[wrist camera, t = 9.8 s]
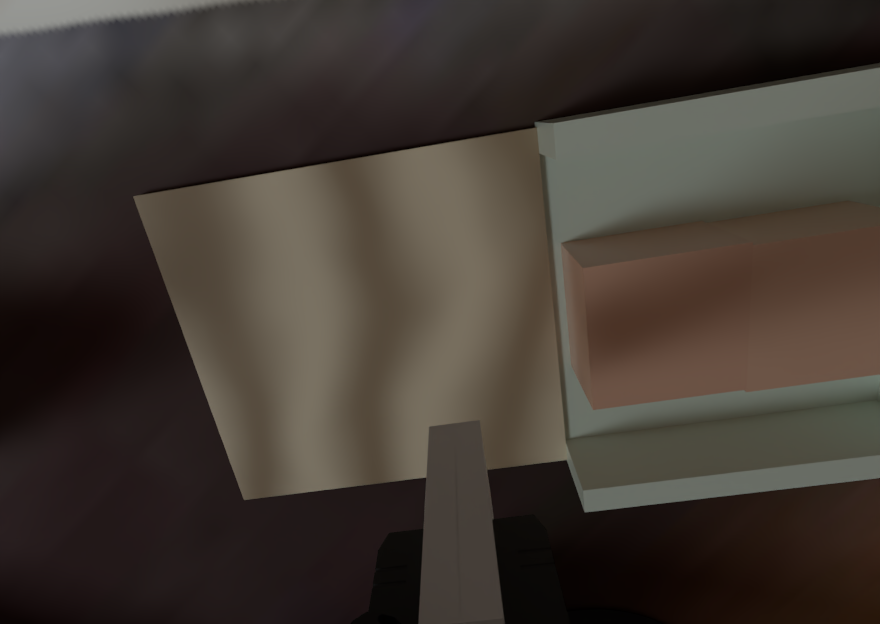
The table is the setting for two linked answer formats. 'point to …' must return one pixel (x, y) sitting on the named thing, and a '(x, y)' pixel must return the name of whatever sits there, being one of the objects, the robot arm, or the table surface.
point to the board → (368, 311)
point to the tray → (707, 199)
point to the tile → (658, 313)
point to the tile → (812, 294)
